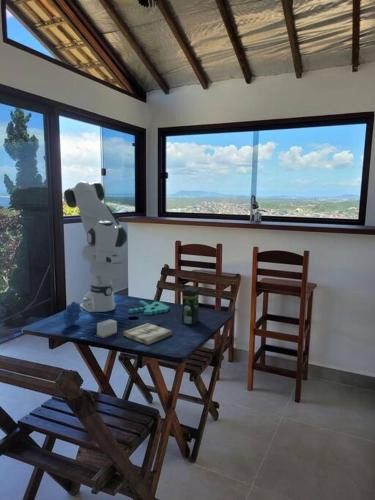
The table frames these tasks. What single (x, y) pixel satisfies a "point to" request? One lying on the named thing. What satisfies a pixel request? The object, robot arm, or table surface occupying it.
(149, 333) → the birch board
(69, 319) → the grapes
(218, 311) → the table surface
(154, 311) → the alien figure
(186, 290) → the coffee jar
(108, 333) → the block
